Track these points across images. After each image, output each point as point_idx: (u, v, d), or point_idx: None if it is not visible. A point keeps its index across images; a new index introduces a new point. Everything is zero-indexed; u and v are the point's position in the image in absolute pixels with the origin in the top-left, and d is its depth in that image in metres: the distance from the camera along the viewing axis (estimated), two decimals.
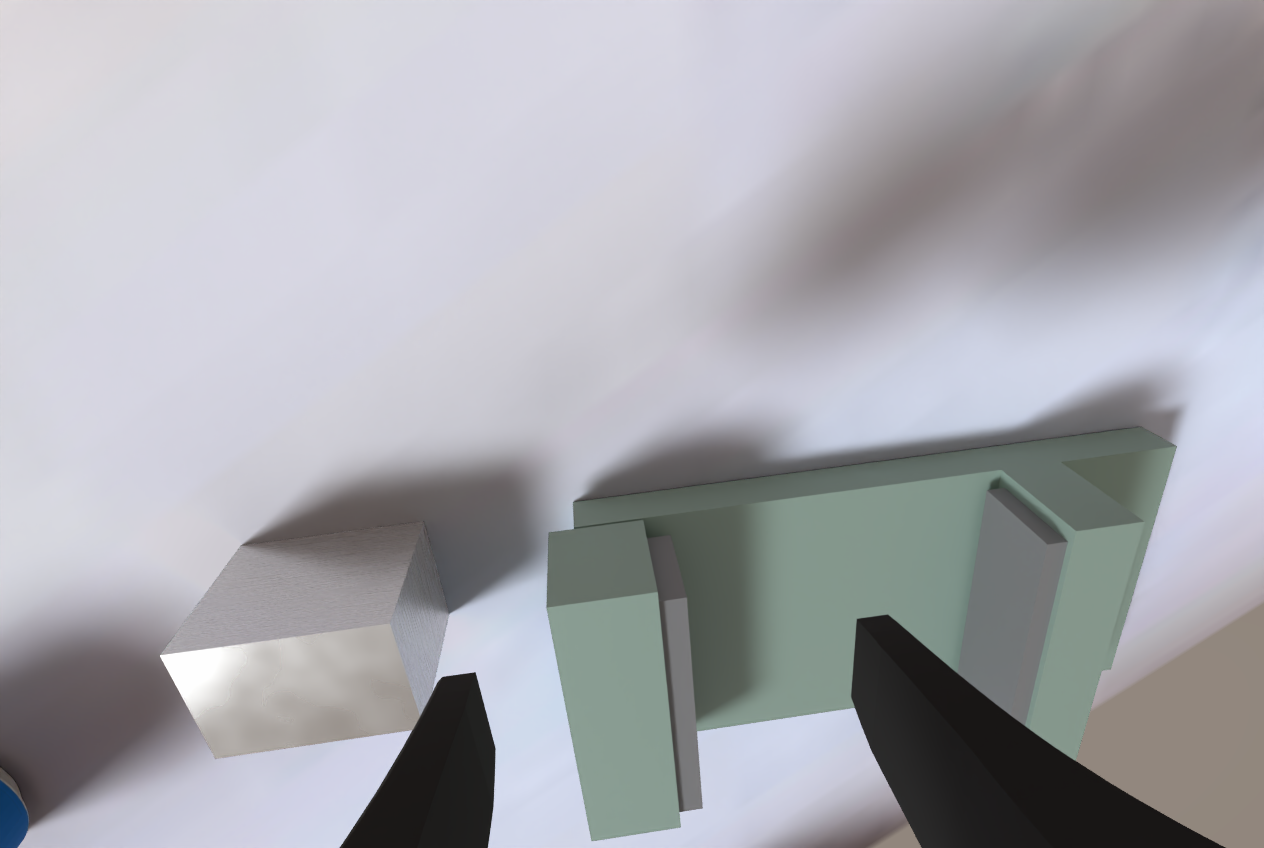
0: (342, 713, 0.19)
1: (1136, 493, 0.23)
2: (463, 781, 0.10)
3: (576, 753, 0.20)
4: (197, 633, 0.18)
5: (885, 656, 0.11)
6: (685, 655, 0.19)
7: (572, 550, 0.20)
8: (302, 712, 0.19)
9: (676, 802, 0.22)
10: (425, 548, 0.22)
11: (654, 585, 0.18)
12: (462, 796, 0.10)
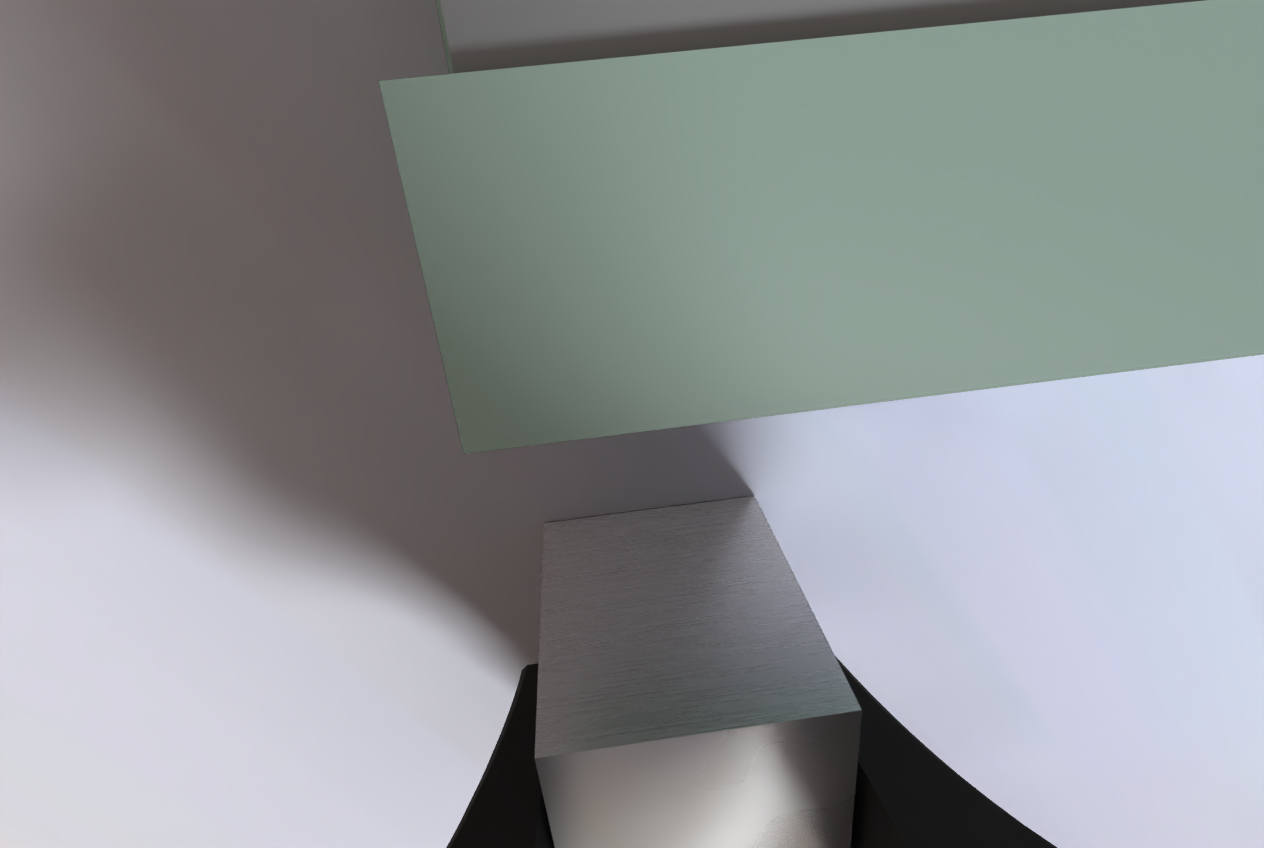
0: (777, 830, 0.09)
1: None
2: None
3: (1075, 372, 0.06)
4: None
5: None
6: None
7: None
8: None
9: None
10: (583, 537, 0.12)
11: None
12: None
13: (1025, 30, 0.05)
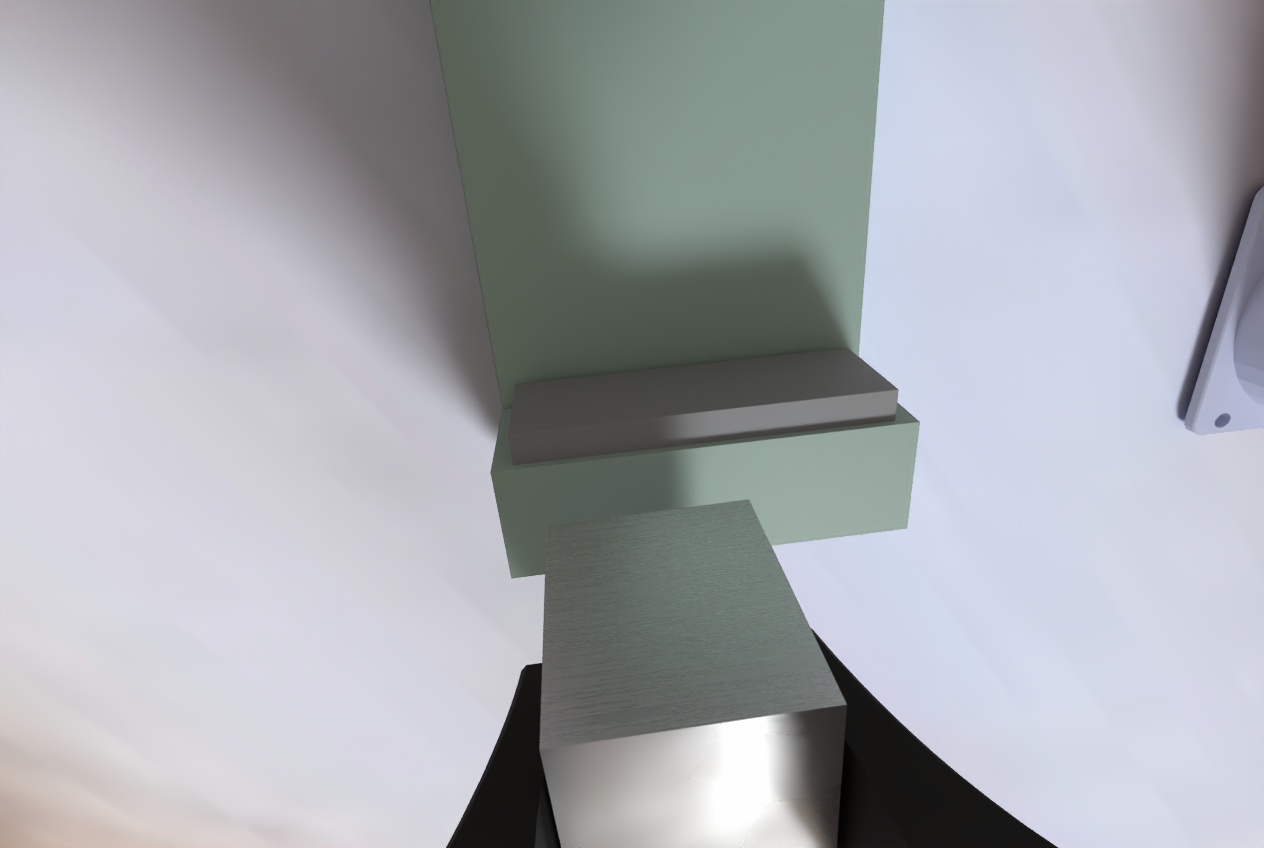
0: (768, 817, 0.10)
1: None
2: None
3: None
4: None
5: None
6: (602, 430, 0.15)
7: None
8: None
9: (866, 430, 0.16)
10: (584, 539, 0.12)
11: (492, 468, 0.15)
12: None
13: (699, 450, 0.15)
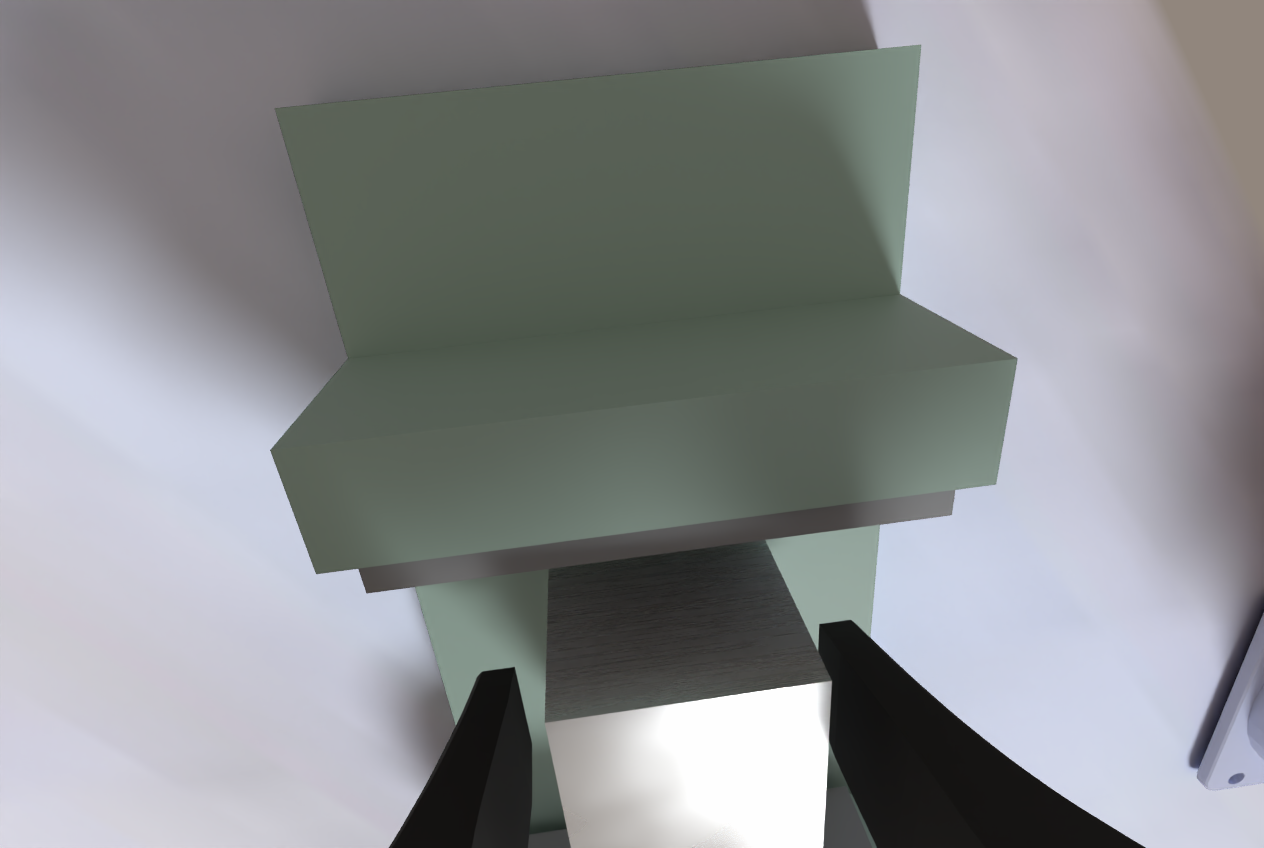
0: (759, 790, 0.10)
1: (403, 166, 0.10)
2: (507, 774, 0.11)
3: None
4: None
5: (844, 662, 0.11)
6: None
7: None
8: (743, 837, 0.11)
9: None
10: None
11: None
12: (507, 790, 0.10)
13: None
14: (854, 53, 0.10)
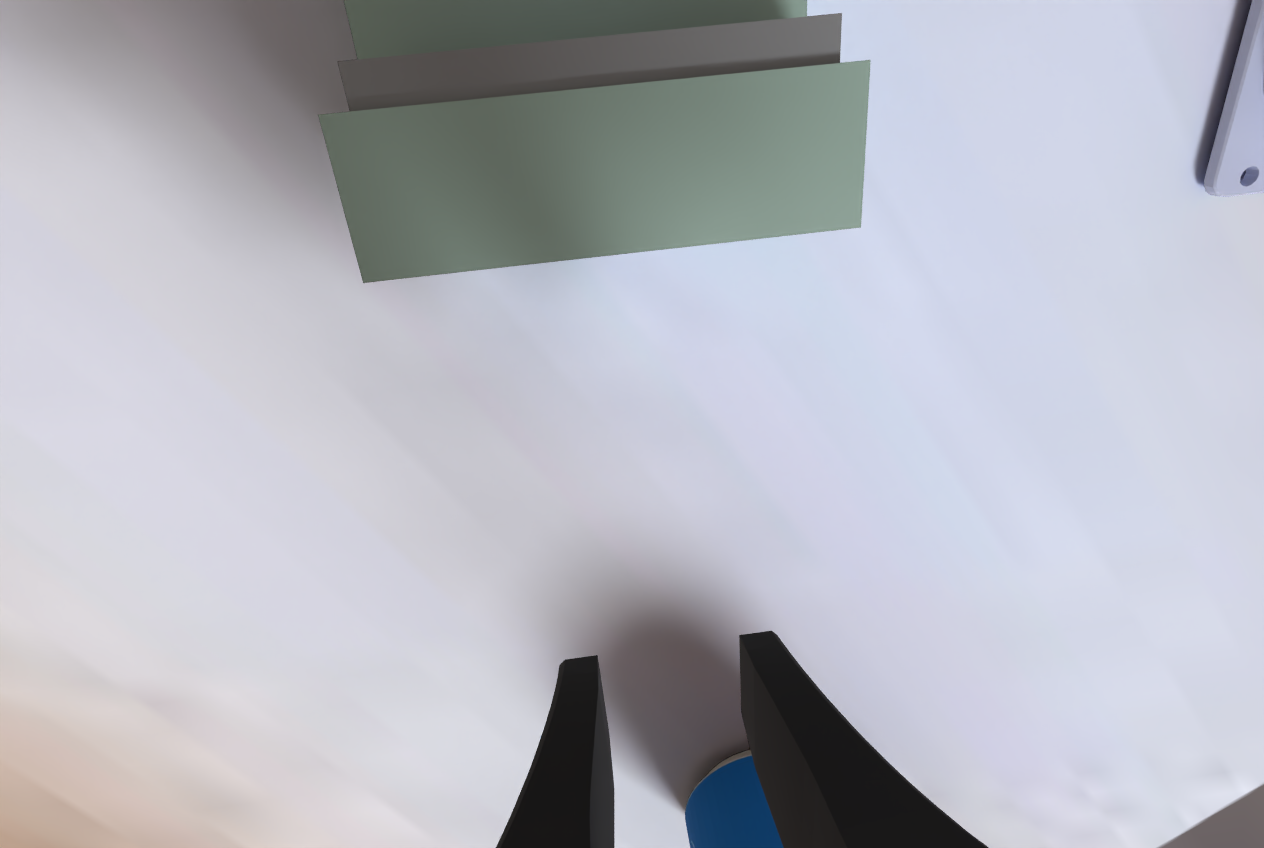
0: None
1: None
2: (601, 761, 0.11)
3: (652, 247, 0.13)
4: None
5: (756, 674, 0.11)
6: (460, 60, 0.12)
7: None
8: None
9: (801, 70, 0.12)
10: None
11: None
12: (602, 775, 0.11)
13: (588, 93, 0.12)
14: None
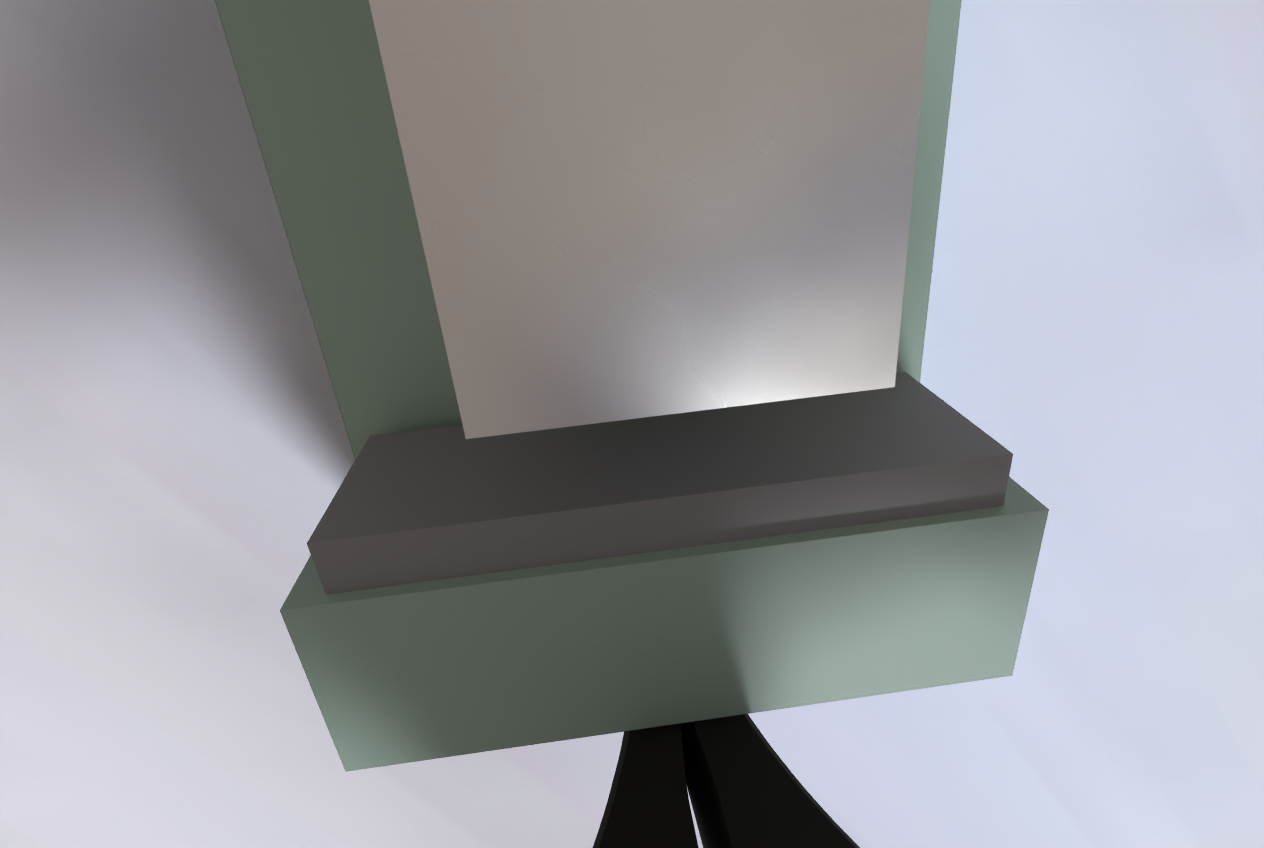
0: None
1: None
2: None
3: (735, 712, 0.10)
4: None
5: None
6: (481, 532, 0.08)
7: None
8: (756, 50, 0.05)
9: (954, 525, 0.09)
10: None
11: (289, 598, 0.09)
12: None
13: (658, 563, 0.09)
14: None
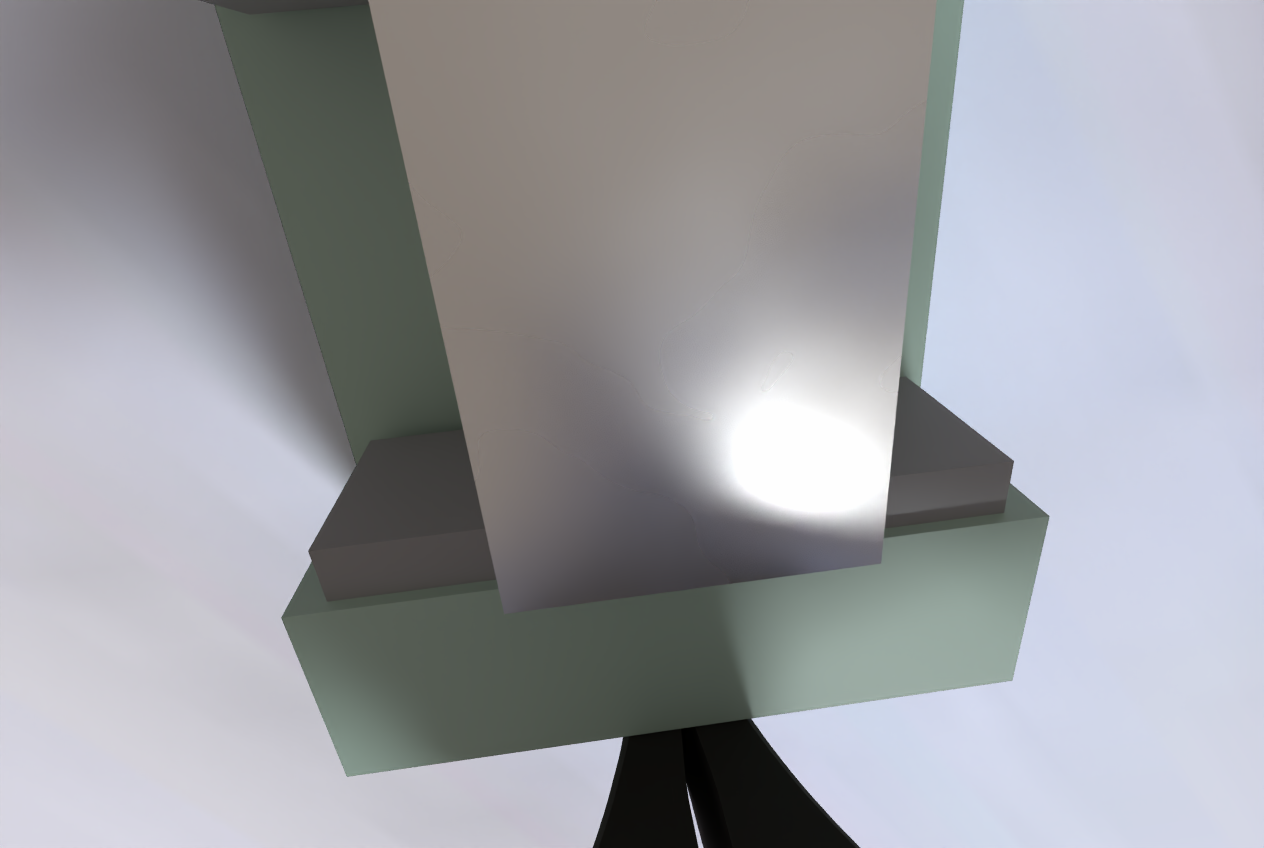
0: (794, 184, 0.05)
1: None
2: None
3: (736, 717, 0.10)
4: None
5: None
6: (483, 539, 0.08)
7: None
8: (761, 316, 0.06)
9: (955, 532, 0.09)
10: None
11: (290, 605, 0.09)
12: None
13: None
14: None
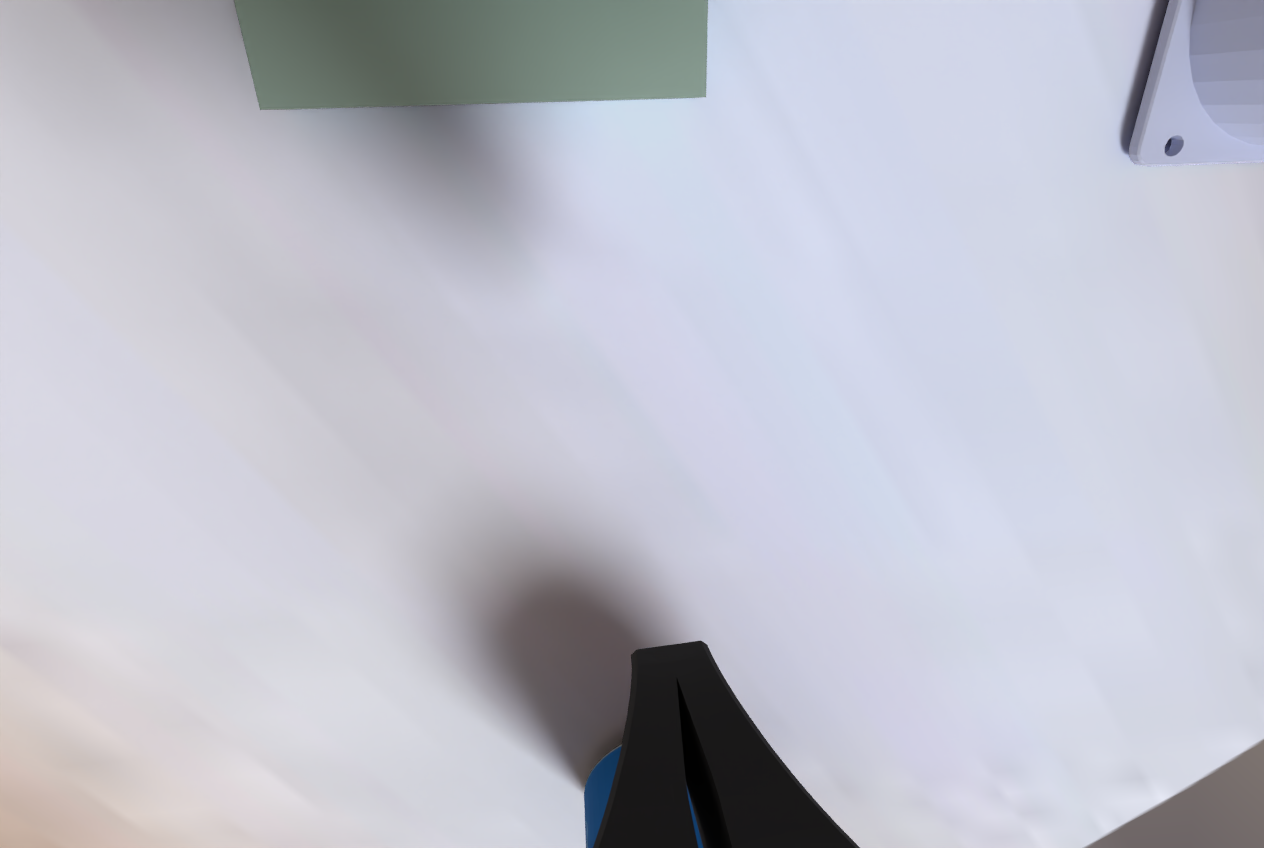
0: None
1: None
2: None
3: None
4: None
5: (678, 686, 0.11)
6: None
7: None
8: None
9: None
10: None
11: None
12: None
13: None
14: None
